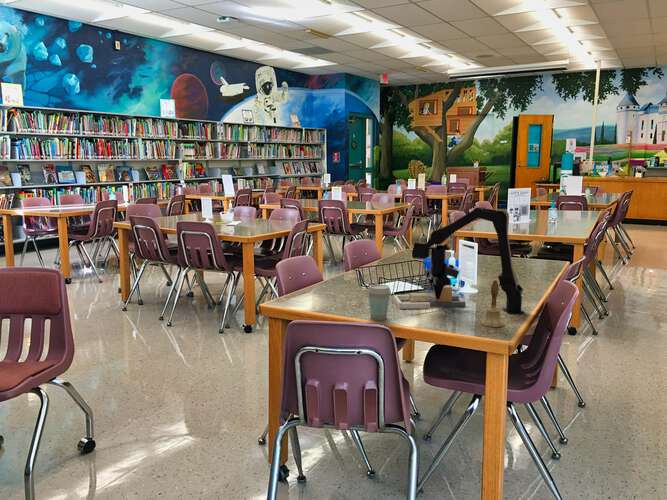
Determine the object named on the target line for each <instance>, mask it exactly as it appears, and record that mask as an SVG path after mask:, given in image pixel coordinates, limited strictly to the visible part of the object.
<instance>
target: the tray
mask: <svg viewBox="0 0 667 500" xmlns="http://www.w3.org/2000/svg"><path fill="white" fill-rule="evenodd" d="M392 300H393V301H394V304H395V305H396V306H397V307H398V309H430V308H431V307H430V303H429V302H427V303H409V302H402V301H409V294H393V295H392Z"/></svg>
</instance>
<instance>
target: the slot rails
mask: <svg viewBox="0 0 667 500" xmlns="http://www.w3.org/2000/svg"><path fill="white" fill-rule="evenodd" d="M429 303H430V308H445V307H446V308H448V307H449V308H451V307H457V308H459V307H466V304H467V303H466V301H464V300H460V296H459V295H452V301H442V302H429Z"/></svg>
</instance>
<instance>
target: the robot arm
mask: <svg viewBox="0 0 667 500" xmlns="http://www.w3.org/2000/svg"><path fill="white" fill-rule="evenodd" d="M477 219H482V220H484V221H488V222H492V225H493V227H494V231H495V232H496V234H497V241H498V248H499V249H498V250H499V255H500V262H501V272H500V273H499V274H498V276H497V278H498V280H499V283H498V287H500V288H501V291H503V292H504V293H505V296H506V303H505V304H506V305H505V307H503V308H502V310H503V311H505V312H506V313H508V314H525V311H524V310H523V309H522V307H523V306H522V305H523V296H522V294H523V292H524V288H523V287H522V286H521V285H520V284H519V280H518V278H517V277H518V276H517V275H516V272H515V270H514V268H513V261H512V254H511V253H512V252H511V247H510V246H511V245H510V239H509V228H510V227H509V226H510V214H509V212H508V211H507V210H505V209H497V210H496V209H490V208H484V207H481V206H477V207H474V209H473V210H471V211H469V212H468V213H467V214H465V215H463V216H462V217H460V218H458V219H457V220H455V221H454V222H453V223H450V224H449V225H445V226H443V227H440V228H438V229H435V230H434V231H432V232H431V234H430V238H429V240H428V241H427V242H419V241H415V242H413V247H412V251H411V256H412V257H411V258H412V259H414V260H417V259H418V260H428V258H430V261H429V265H430V268H429V269H428V268H427V269H426V270H425V271H424V276H425V277H426V278H427V282H428V283H429V286H430V288H431V291H432V292H433V289H434V292H435V295H436V298H437V299H439V298H440V295H441V292H442V289H443V287H444V286H452V280H451V279H450V278H449V277H451V278H453V279H458V276H459V274H460V271H459V270H458V269H456V268H455V266H454V265H453V264H450V263H449V264H447V263H446V253H447V251H450V250H451V249H452V248H451V247H450V245H448V243H445V242H446V241H447V240H448V239H450V237H452V236H453V234H455V233H456V232H457V231H460V230H461V229H462V228H464V227H466V226H468V225H469V224H470V223H472V222H474V221H476V220H477ZM443 243H445V244H444V245H443ZM434 245H436V246H434ZM448 276H449V277H448ZM428 277H429V278H428Z"/></svg>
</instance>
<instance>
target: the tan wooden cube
mask: <svg viewBox="0 0 667 500" xmlns="http://www.w3.org/2000/svg"><path fill="white" fill-rule="evenodd" d="M408 295H409V300H408V303H421V295H420V294H419V292H418V293H417V292H416V293H415V292H414V293H413V292H412V293H408Z"/></svg>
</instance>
